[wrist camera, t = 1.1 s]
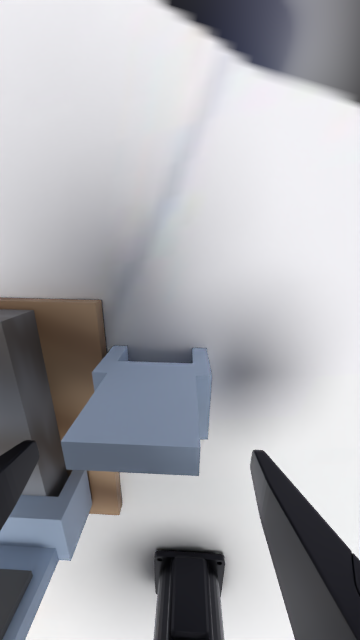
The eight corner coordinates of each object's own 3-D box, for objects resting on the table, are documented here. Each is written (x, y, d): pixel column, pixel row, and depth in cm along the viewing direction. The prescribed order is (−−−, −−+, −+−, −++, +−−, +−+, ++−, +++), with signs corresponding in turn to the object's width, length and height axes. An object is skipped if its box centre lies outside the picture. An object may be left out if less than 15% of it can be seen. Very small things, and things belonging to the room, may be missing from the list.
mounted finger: (92, 504, 17) (24, 680, 10) (19, 500, 17) (-98, 670, 10) (86, 467, 15) (4, 638, 9) (7, 463, 16) (-135, 628, 9)
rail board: (122, 504, 18) (109, 551, 15) (20, 498, 18) (-11, 544, 15) (101, 299, 12) (75, 313, 10) (-43, 296, 13) (-110, 308, 10)
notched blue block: (203, 400, 14) (217, 532, 8) (118, 397, 15) (56, 523, 8) (206, 348, 13) (226, 448, 6) (113, 345, 13) (35, 440, 7)
